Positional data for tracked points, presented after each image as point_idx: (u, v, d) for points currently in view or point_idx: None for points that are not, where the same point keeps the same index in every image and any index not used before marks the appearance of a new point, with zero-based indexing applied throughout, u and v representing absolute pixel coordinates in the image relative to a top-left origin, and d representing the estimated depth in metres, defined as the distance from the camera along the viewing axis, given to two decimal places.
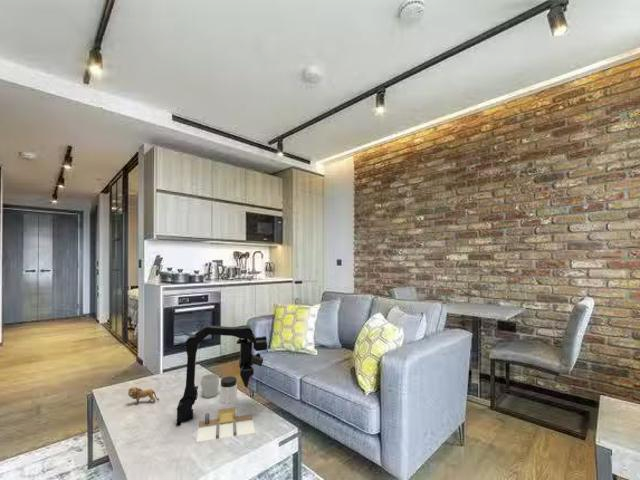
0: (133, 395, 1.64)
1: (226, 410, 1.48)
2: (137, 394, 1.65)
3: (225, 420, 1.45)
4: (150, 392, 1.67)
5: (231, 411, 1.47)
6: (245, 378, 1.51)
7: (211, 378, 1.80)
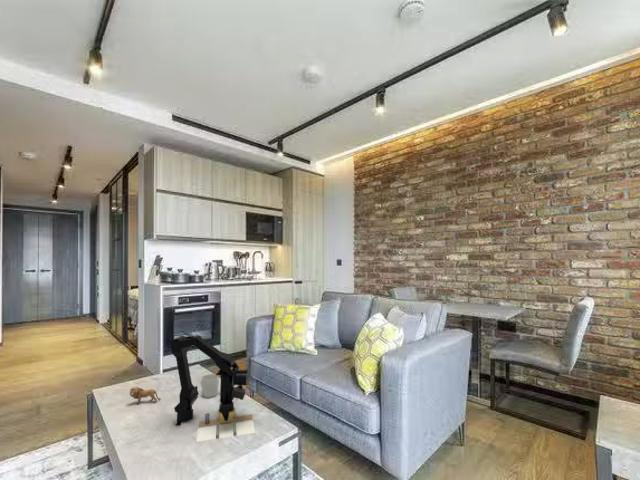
0: (134, 395, 1.64)
1: None
2: (138, 394, 1.65)
3: None
4: (151, 392, 1.67)
5: (231, 411, 1.47)
6: (225, 411, 1.44)
7: (211, 378, 1.80)
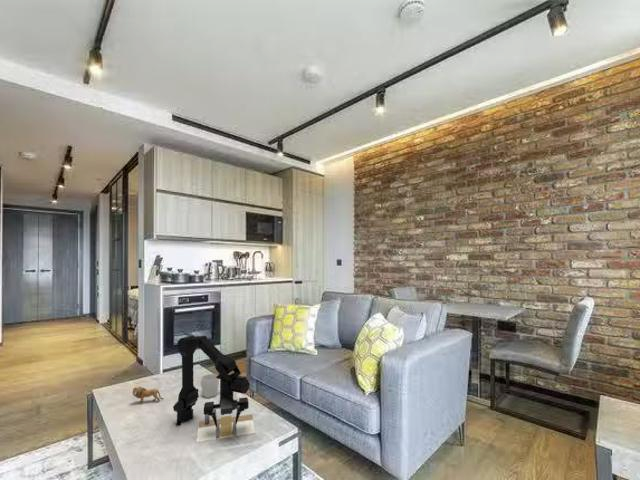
0: (137, 394, 1.65)
1: (226, 420, 1.39)
2: (141, 394, 1.65)
3: None
4: (154, 391, 1.67)
5: (223, 423, 1.36)
6: None
7: (211, 378, 1.80)
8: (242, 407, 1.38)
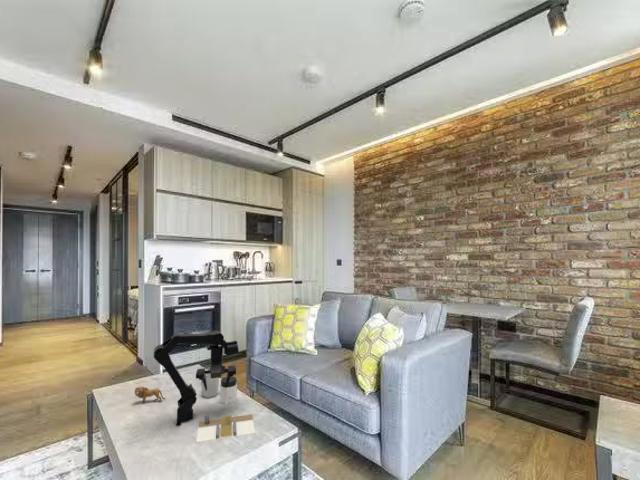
0: (139, 394, 1.65)
1: (226, 420, 1.39)
2: (143, 394, 1.66)
3: None
4: (156, 391, 1.68)
5: (223, 423, 1.36)
6: None
7: (211, 378, 1.80)
8: (230, 373, 1.55)
